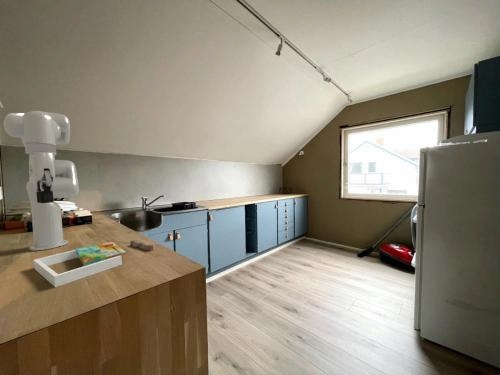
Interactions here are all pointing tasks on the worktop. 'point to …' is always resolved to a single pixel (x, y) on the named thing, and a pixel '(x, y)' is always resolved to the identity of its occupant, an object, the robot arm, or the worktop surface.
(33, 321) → the worktop surface
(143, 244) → the rail
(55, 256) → the frame
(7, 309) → the worktop surface
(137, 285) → the worktop surface
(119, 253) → the puzzle game
